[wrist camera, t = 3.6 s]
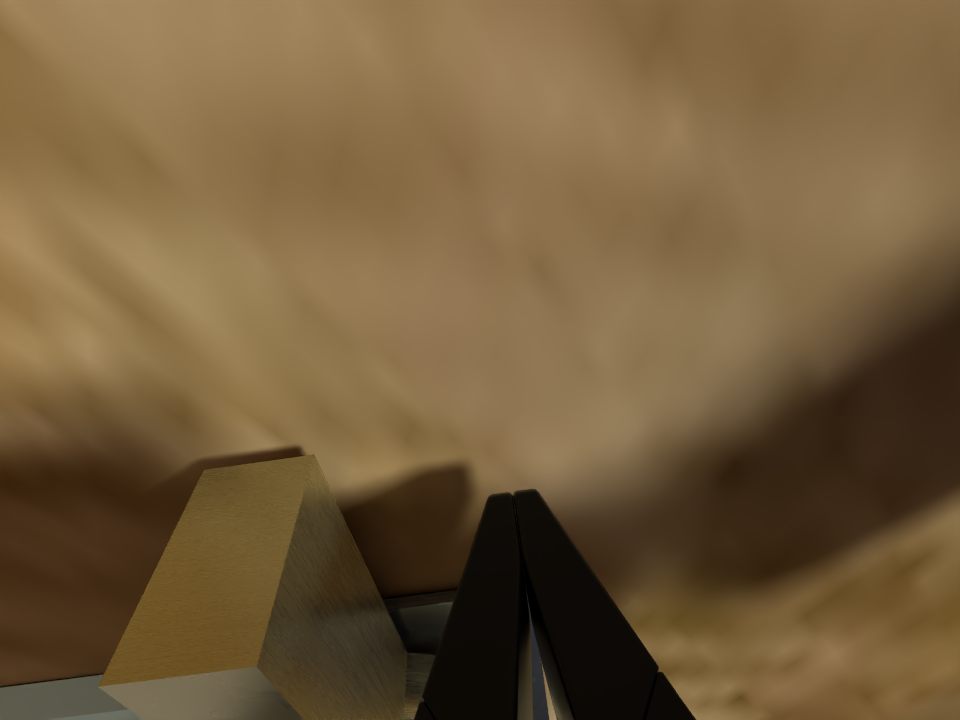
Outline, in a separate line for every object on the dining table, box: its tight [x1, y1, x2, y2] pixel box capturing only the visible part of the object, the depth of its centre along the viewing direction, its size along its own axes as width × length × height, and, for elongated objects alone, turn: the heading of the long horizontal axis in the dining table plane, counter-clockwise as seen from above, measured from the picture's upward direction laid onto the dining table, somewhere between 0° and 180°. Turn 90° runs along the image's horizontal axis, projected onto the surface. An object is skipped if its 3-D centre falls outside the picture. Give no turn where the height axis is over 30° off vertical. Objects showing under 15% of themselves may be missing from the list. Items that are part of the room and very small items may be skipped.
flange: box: [383, 583, 549, 720], centre depth 16 cm, size 9×9×1 cm
